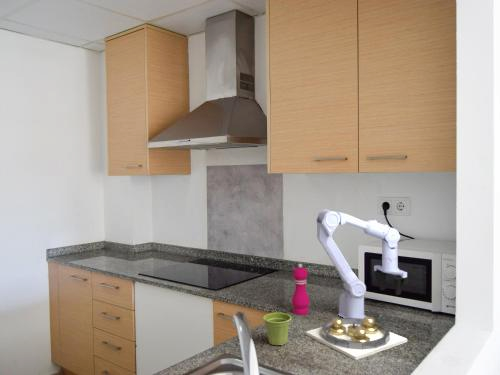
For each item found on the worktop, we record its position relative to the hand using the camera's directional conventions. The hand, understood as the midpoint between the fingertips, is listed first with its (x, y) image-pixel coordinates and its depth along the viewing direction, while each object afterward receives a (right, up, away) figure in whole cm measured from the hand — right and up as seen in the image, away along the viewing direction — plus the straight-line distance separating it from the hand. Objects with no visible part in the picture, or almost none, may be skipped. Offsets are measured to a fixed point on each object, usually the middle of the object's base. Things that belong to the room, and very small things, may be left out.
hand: (390, 292), depth 163 cm
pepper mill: (-34, -10, +7) cm, 36 cm away
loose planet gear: (-13, -10, -17) cm, 23 cm away
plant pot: (-46, -12, -22) cm, 52 cm away
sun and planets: (-20, -10, -21) cm, 31 cm away
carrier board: (-19, -11, -20) cm, 30 cm away
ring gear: (-19, -10, -20) cm, 29 cm away
